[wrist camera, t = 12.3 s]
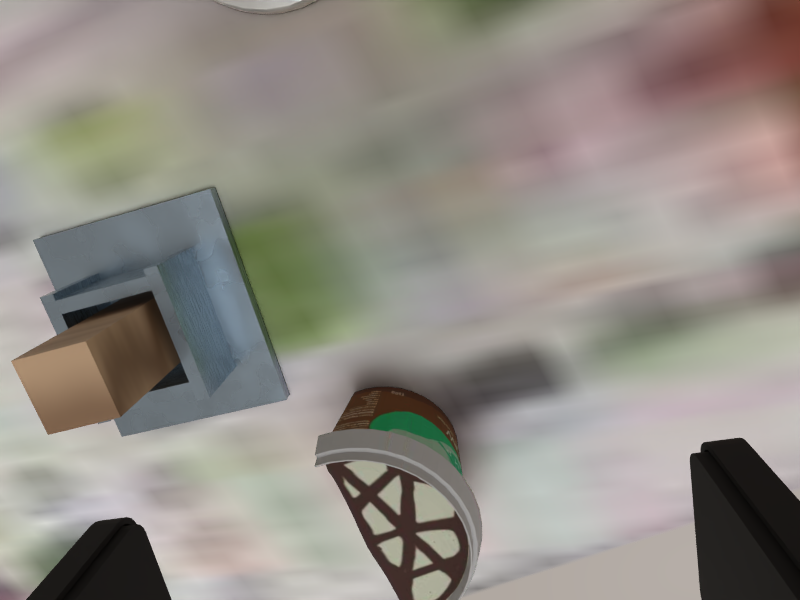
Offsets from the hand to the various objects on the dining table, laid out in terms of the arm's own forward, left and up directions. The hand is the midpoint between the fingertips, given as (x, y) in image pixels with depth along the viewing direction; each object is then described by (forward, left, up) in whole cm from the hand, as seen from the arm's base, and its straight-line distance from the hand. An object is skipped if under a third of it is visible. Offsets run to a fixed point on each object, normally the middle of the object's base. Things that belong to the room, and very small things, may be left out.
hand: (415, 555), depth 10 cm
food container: (+13, -4, -27) cm, 30 cm away
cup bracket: (+1, -18, -27) cm, 33 cm away
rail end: (0, -18, -26) cm, 32 cm away
